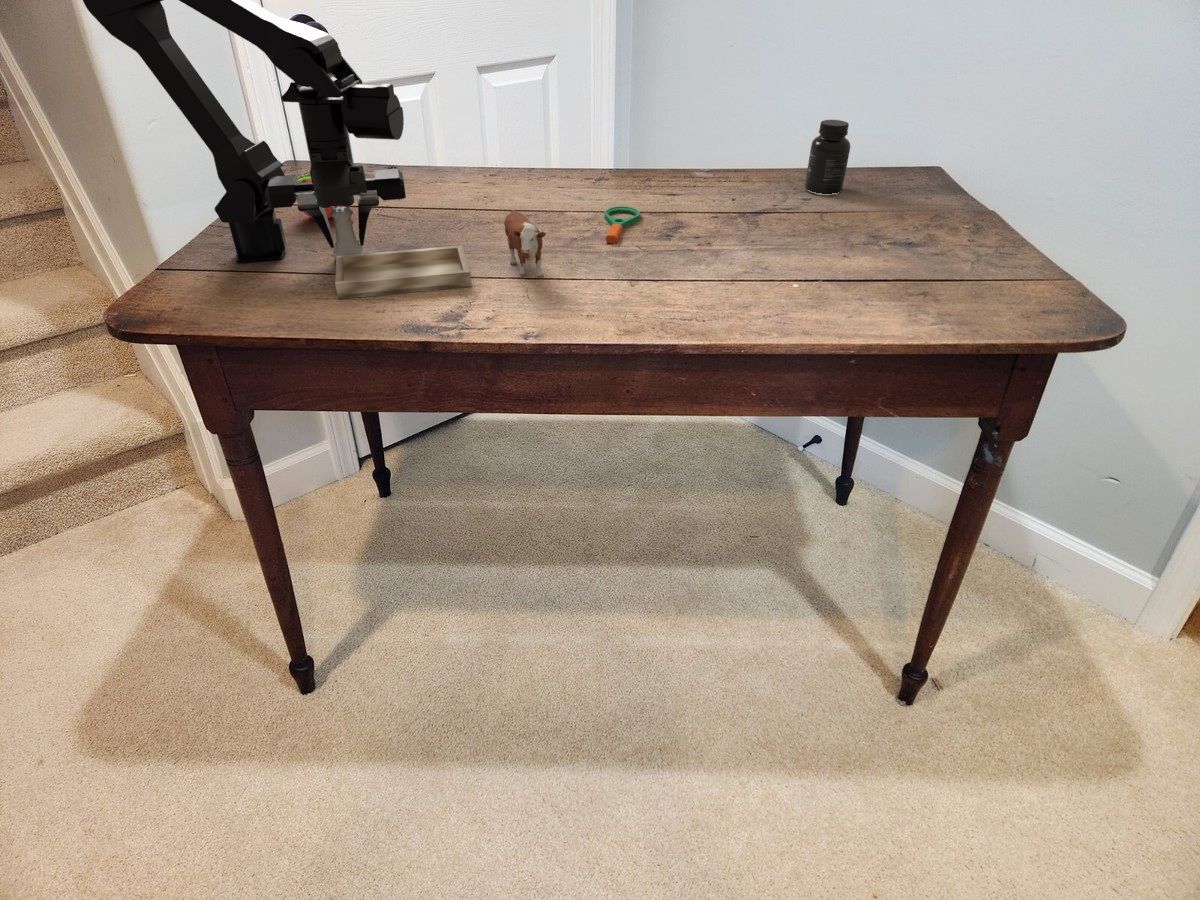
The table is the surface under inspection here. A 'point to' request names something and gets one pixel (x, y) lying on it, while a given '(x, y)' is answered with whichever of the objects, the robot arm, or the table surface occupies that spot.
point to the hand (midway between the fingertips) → (347, 246)
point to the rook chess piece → (344, 232)
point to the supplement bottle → (828, 158)
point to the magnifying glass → (619, 221)
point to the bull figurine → (524, 241)
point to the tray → (401, 272)
